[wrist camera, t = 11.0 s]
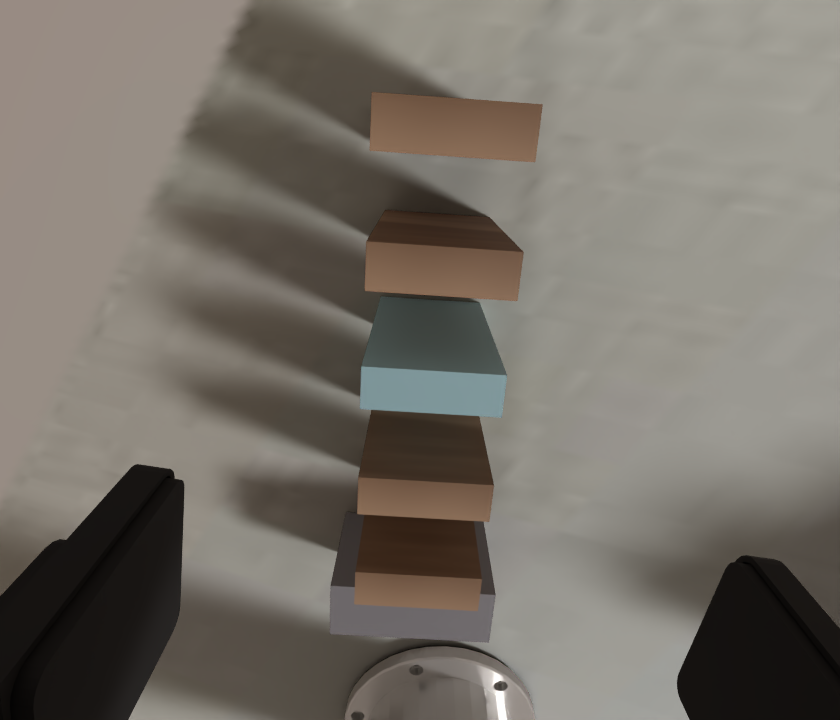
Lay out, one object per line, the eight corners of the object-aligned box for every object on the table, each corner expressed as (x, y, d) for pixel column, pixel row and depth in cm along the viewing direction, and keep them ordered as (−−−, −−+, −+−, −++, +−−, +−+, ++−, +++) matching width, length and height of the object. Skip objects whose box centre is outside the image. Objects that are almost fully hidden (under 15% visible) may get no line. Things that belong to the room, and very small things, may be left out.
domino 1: (495, 157, 27) (535, 162, 17) (388, 150, 27) (369, 150, 17) (499, 120, 26) (542, 104, 17) (389, 112, 26) (371, 91, 17)
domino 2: (485, 250, 28) (517, 301, 19) (383, 243, 28) (364, 290, 19) (489, 217, 28) (523, 252, 18) (385, 209, 28) (366, 241, 18)
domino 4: (469, 409, 31) (489, 521, 22) (376, 403, 31) (357, 513, 22) (471, 382, 31) (493, 485, 21) (377, 376, 31) (358, 477, 21)
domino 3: (476, 332, 30) (501, 417, 20) (379, 326, 30) (360, 409, 20) (479, 302, 29) (506, 375, 20) (380, 296, 29) (361, 366, 20)
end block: (477, 562, 35) (488, 642, 29) (344, 554, 34) (329, 633, 29) (483, 520, 34) (495, 595, 28) (345, 512, 33) (330, 585, 28)
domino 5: (461, 478, 33) (477, 611, 23) (373, 473, 33) (354, 604, 23) (464, 453, 32) (482, 579, 23) (374, 448, 32) (355, 572, 23)
